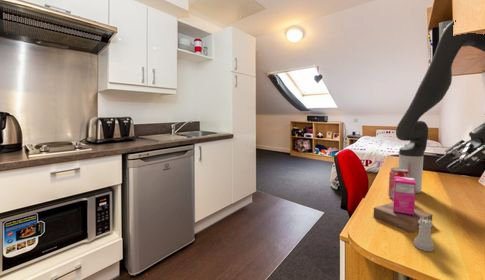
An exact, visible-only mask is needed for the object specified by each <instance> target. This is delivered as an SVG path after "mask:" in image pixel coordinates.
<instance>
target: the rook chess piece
mask: <svg viewBox="0 0 485 280" xmlns="http://www.w3.org/2000/svg"><path fill="white" fill-rule="evenodd" d="M418 223H419V224H420V226H419V230H418V234H417V235H416V236H415V238H414V239H413V245H414V246H415V248H417V249H418V250H420V251H424V252H429V253H430V252H433V251H434V250H435V244H434V242H433V240H432V237H431V235H432V234H431V232H432V227H433V226H434V223H433V220H432V221H431V220H429V221H428V219H427V218H426V220H424V218H420V220H419V221H418Z"/></svg>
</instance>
